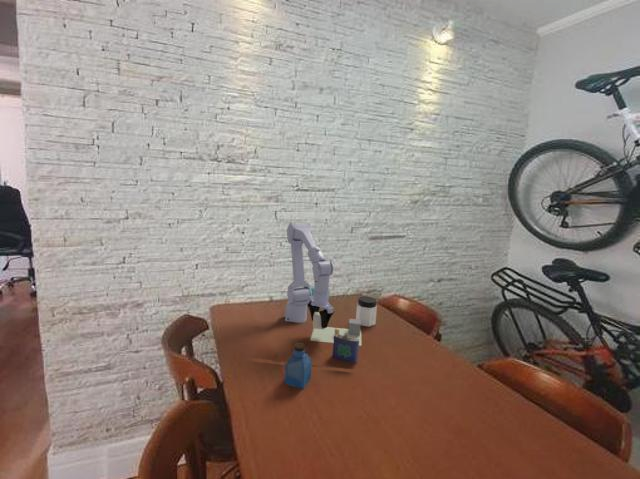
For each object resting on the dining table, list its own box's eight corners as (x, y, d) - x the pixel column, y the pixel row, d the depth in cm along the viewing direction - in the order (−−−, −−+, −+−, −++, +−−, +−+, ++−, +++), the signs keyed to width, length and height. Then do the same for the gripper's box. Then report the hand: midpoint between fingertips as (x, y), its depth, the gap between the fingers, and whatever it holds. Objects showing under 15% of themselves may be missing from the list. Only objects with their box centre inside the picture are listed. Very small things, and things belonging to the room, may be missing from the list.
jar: (366, 330, 144) (368, 303, 142) (352, 324, 150) (353, 298, 148) (378, 325, 150) (380, 299, 148) (364, 319, 156) (366, 294, 154)
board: (309, 342, 130) (310, 333, 129) (314, 327, 143) (315, 319, 143) (361, 348, 128) (362, 338, 127) (361, 332, 141) (361, 323, 141)
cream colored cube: (312, 328, 129) (313, 316, 129) (314, 323, 134) (314, 311, 133) (324, 329, 129) (325, 317, 128) (325, 324, 133) (326, 312, 133)
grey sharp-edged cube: (348, 334, 136) (349, 323, 136) (348, 329, 141) (349, 318, 140) (359, 335, 136) (360, 324, 135) (359, 330, 140) (360, 319, 140)
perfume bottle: (310, 378, 106) (312, 343, 104) (303, 389, 100) (305, 352, 98) (292, 373, 108) (294, 339, 106) (284, 384, 102) (286, 347, 100)
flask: (358, 362, 117) (360, 334, 115) (356, 366, 114) (358, 337, 113) (333, 356, 120) (335, 328, 119) (330, 360, 118) (332, 331, 116)
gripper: (302, 287, 133) (301, 319, 135) (323, 298, 121) (320, 333, 123) (317, 285, 137) (315, 316, 139) (338, 295, 125) (336, 329, 127)
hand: (319, 324), depth 131 cm, fingers closed on cream colored cube, 6 cm apart
